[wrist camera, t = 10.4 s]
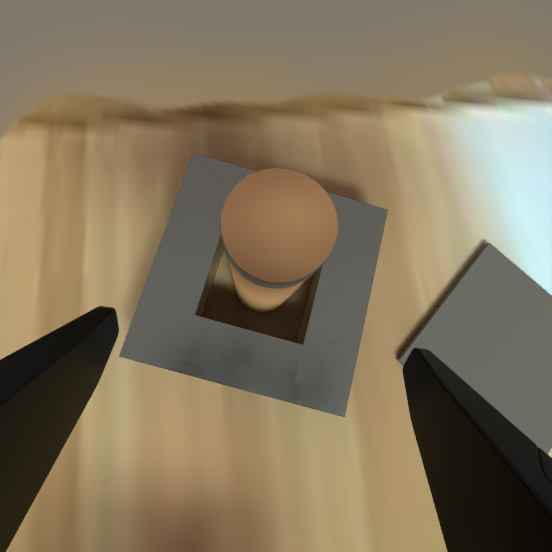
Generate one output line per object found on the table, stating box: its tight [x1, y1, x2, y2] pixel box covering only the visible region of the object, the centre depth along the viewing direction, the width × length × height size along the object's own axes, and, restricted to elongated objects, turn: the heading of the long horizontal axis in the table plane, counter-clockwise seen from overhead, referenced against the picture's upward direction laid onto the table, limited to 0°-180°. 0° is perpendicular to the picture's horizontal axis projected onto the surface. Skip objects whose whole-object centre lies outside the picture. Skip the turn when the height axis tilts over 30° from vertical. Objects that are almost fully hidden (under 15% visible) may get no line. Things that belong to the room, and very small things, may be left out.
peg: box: [220, 168, 338, 312], centre depth 17 cm, size 4×4×13 cm
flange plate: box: [119, 153, 388, 417], centre depth 22 cm, size 14×14×3 cm
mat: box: [397, 243, 552, 454], centre depth 24 cm, size 12×12×1 cm
